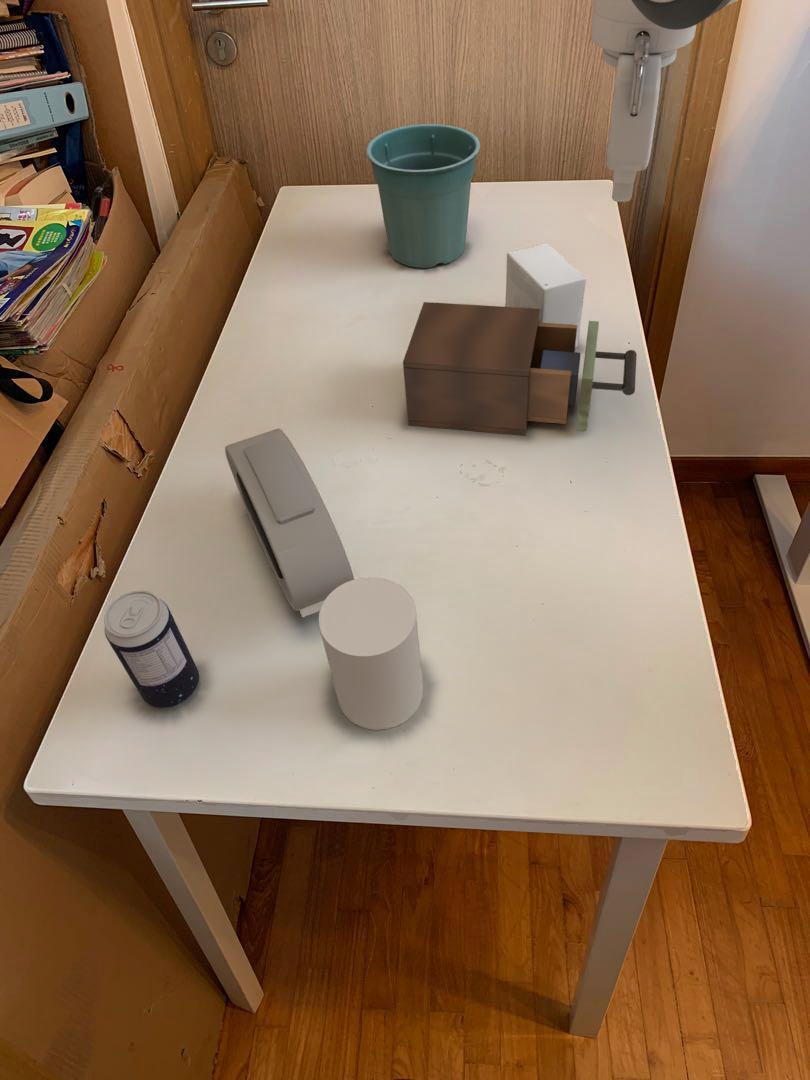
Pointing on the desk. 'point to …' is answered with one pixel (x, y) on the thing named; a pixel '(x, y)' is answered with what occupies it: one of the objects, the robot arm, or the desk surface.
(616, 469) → the desk surface
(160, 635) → the beverage can
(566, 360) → the block
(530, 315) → the cabinet
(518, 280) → the cosmetics box
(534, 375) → the drawer
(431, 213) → the flower pot
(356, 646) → the white solid cylinder
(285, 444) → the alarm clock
